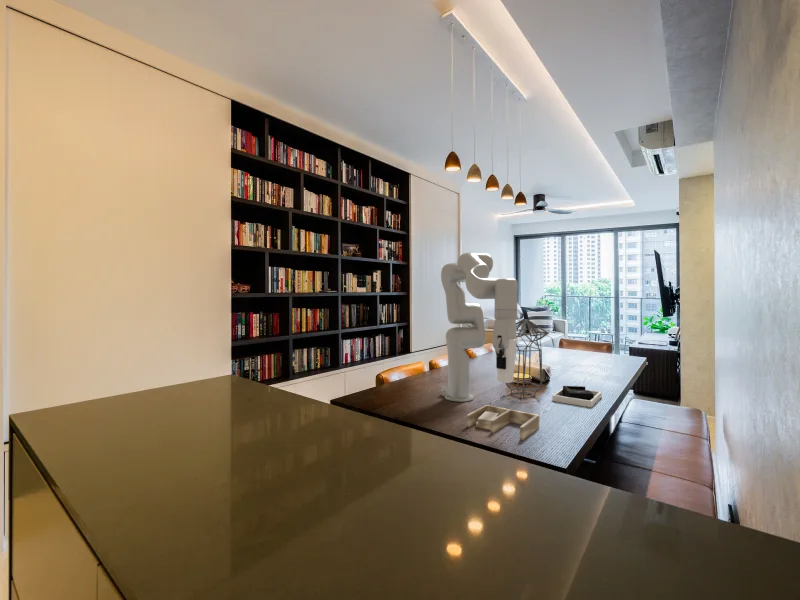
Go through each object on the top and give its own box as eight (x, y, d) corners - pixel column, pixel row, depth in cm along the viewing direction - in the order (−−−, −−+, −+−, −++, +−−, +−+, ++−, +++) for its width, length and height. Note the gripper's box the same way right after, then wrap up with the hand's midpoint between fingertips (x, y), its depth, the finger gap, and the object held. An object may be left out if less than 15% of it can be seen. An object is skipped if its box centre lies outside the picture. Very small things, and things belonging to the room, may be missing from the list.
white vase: (516, 384, 130) (517, 339, 129) (495, 383, 131) (496, 338, 130) (514, 379, 136) (515, 336, 136) (494, 378, 138) (495, 336, 137)
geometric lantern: (527, 390, 187) (529, 317, 185) (549, 399, 172) (551, 320, 170) (498, 392, 182) (500, 317, 180) (518, 402, 167) (521, 321, 165)
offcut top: (477, 423, 135) (477, 418, 135) (485, 415, 143) (485, 411, 143) (492, 425, 133) (492, 420, 132) (498, 417, 140) (498, 413, 140)
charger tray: (552, 400, 169) (552, 395, 169) (564, 391, 183) (565, 386, 183) (591, 407, 159) (591, 401, 159) (601, 397, 173) (601, 391, 173)
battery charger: (593, 403, 164) (593, 394, 164) (569, 402, 166) (569, 393, 165) (585, 395, 176) (585, 386, 176) (562, 394, 178) (562, 385, 178)
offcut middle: (475, 427, 135) (475, 422, 135) (486, 419, 144) (486, 414, 144) (491, 430, 132) (491, 425, 132) (501, 422, 140) (501, 417, 140)
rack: (466, 429, 135) (466, 414, 135) (486, 417, 147) (486, 404, 147) (523, 443, 123) (523, 427, 123) (539, 429, 135) (539, 415, 134)
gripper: (505, 312, 142) (504, 361, 143) (484, 315, 128) (484, 370, 129) (525, 313, 137) (525, 364, 138) (506, 316, 124) (505, 373, 124)
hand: (505, 366), depth 134 cm, fingers closed on white vase, 6 cm apart
